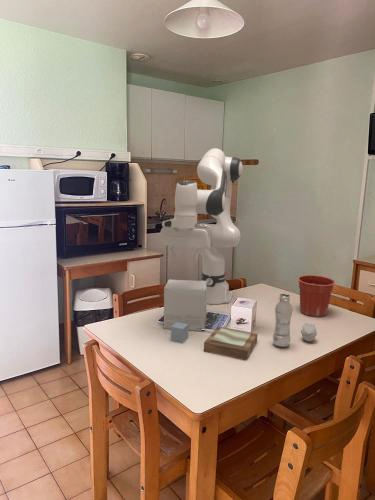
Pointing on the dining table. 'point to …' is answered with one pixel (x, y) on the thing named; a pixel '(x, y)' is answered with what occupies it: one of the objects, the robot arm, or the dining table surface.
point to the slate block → (179, 332)
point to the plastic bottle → (282, 321)
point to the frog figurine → (308, 332)
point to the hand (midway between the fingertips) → (184, 258)
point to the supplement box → (185, 303)
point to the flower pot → (315, 294)
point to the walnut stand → (231, 342)
